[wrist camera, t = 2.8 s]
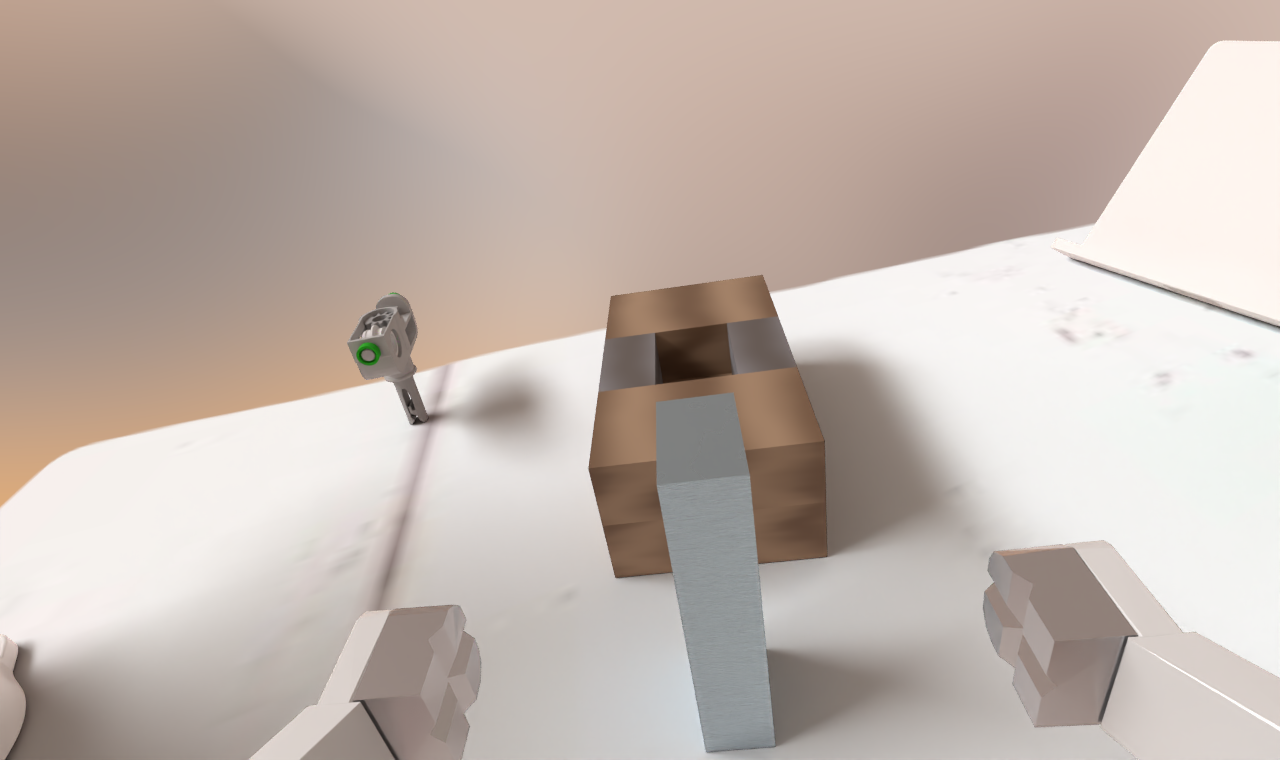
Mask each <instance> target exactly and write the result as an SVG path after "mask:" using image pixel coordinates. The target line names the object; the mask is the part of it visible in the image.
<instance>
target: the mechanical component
mask: <svg viewBox="0 0 1280 760" xmlns="http://www.w3.org/2000/svg"><path fill="white" fill-rule="evenodd" d="M360 336H361V337H362V338H361V339H359V338H360ZM416 338H417V325H416V321H415V318H414V315H413V312H412V309H411V307H410V304H409V302H408V300H407V299H406V298H404V297H403V296H401V295H400V294H398V293H390V294H388V295H385V296H383V297H381V298H380V300H379V301H378V303H377V305H376V309H375V310H372V311H370V312H367V313H366V314H364V315H362V316H361V317H360V319H359V323H358V325H357V327H356V328H355V330H354V332H353V333H352V335H351V337H350V339H349V340H348V342H347V344H348V346H349V349H350V351H351V353H352V356H353V358H354V360H355V362H356V363H357V365H358V368H359V370H360V372H361V374H362V376H363V377H364V378H365V379H366V380H369V379H374V378H379V377H384V378H385V380H386V381H388V382H393V383H394V385H395V387H396V390H397V392H398V395H399V397H400V400H401V402H402V405H403V407H404V410H405V412H406V415H407V417H408V420H409V423H410V424H411V425H412V424H413V422H414V421H415V418H416V415H417V416H418V417H419V420H420V421H422V422H425V421H427V419H428V415H427V413H426V410H425V408H424V405H423V402H422V400H421V397H420V394H419V392H418V389H417V386H416V384H415V381H414V379H413V375H414V374H415V372H416V370H417V368H416V366H415V365H413V362H412V360H411V357H410V354H411V351H412V348H413V346H414V343H415V341H416ZM408 393H409V395H410V397H411V400H410V397H409V395H408Z"/></svg>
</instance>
